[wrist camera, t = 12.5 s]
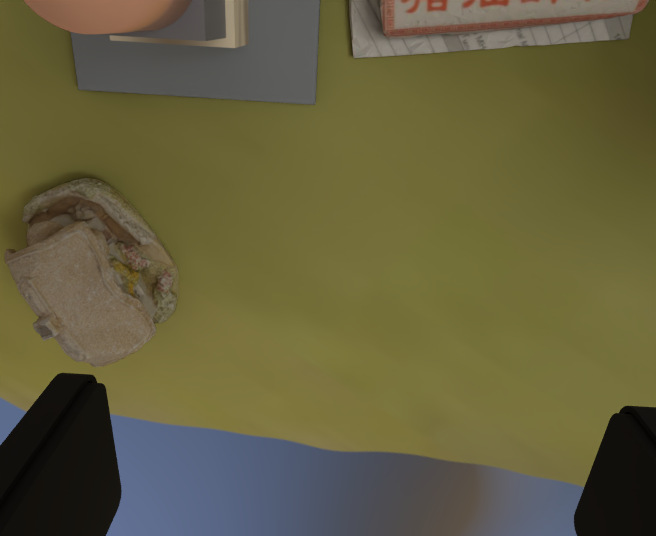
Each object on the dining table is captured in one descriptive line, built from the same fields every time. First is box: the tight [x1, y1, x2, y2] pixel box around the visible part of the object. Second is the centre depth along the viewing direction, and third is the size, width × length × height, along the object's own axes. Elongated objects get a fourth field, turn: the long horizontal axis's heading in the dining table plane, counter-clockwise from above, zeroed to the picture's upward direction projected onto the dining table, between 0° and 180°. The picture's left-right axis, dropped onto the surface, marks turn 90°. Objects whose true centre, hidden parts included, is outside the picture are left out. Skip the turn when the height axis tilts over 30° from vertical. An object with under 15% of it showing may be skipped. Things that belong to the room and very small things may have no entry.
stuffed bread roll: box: [5, 178, 179, 367], centre depth 38 cm, size 14×11×10 cm
